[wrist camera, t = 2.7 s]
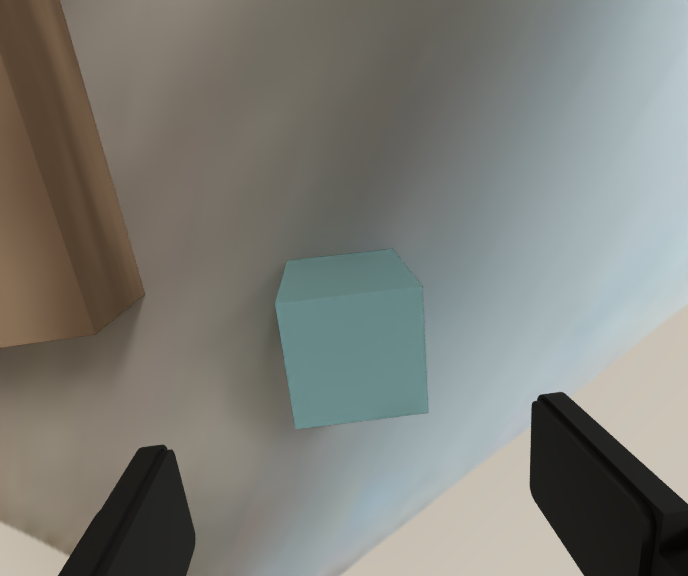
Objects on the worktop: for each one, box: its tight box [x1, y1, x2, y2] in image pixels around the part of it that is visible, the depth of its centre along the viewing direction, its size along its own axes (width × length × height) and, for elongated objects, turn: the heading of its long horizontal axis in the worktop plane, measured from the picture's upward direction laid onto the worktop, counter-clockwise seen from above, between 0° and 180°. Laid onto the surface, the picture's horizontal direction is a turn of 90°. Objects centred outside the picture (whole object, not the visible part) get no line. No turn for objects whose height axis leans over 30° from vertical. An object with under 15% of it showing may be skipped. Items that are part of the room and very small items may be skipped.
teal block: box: [275, 249, 428, 429], centre depth 18 cm, size 5×5×6 cm
